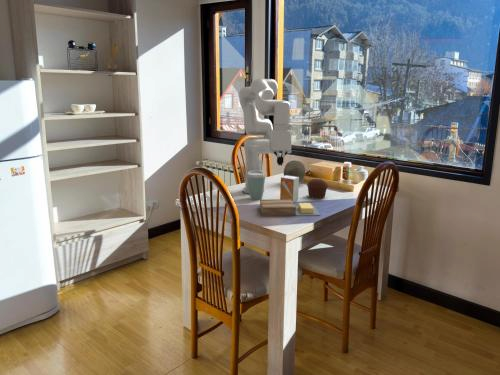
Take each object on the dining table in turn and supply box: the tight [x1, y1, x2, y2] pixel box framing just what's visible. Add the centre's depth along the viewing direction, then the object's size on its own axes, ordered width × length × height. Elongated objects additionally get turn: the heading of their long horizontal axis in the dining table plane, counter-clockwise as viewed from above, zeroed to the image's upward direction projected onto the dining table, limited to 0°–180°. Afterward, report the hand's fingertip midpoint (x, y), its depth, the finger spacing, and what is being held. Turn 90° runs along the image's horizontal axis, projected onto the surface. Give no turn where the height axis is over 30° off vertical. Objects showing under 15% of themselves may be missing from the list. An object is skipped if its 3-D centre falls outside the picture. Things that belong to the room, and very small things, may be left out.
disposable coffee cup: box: [245, 170, 267, 201], centre depth 227 cm, size 11×11×15 cm
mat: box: [294, 204, 321, 217], centre depth 208 cm, size 16×12×1 cm
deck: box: [259, 198, 296, 217], centre depth 207 cm, size 14×16×4 cm
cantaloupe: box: [283, 160, 306, 183], centre depth 260 cm, size 14×14×15 cm
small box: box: [279, 175, 300, 203], centre depth 225 cm, size 8×6×13 cm
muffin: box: [306, 178, 329, 200], centre depth 233 cm, size 12×11×10 cm
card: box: [298, 202, 314, 213], centre depth 207 cm, size 9×6×2 cm, turn 2°
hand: (280, 164), depth 203 cm, fingers closed
